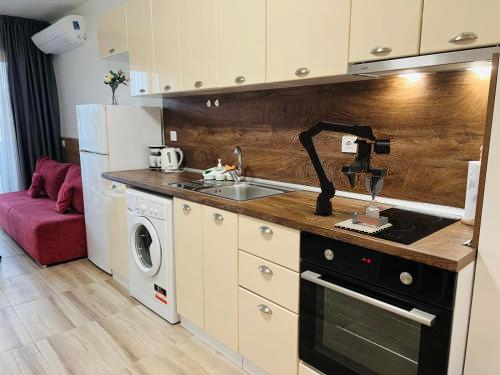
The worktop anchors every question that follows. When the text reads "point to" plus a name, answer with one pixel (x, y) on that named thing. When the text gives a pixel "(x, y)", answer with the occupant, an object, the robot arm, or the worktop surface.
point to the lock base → (365, 225)
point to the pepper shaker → (372, 209)
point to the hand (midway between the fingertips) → (362, 190)
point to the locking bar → (365, 219)
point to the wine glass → (376, 189)
